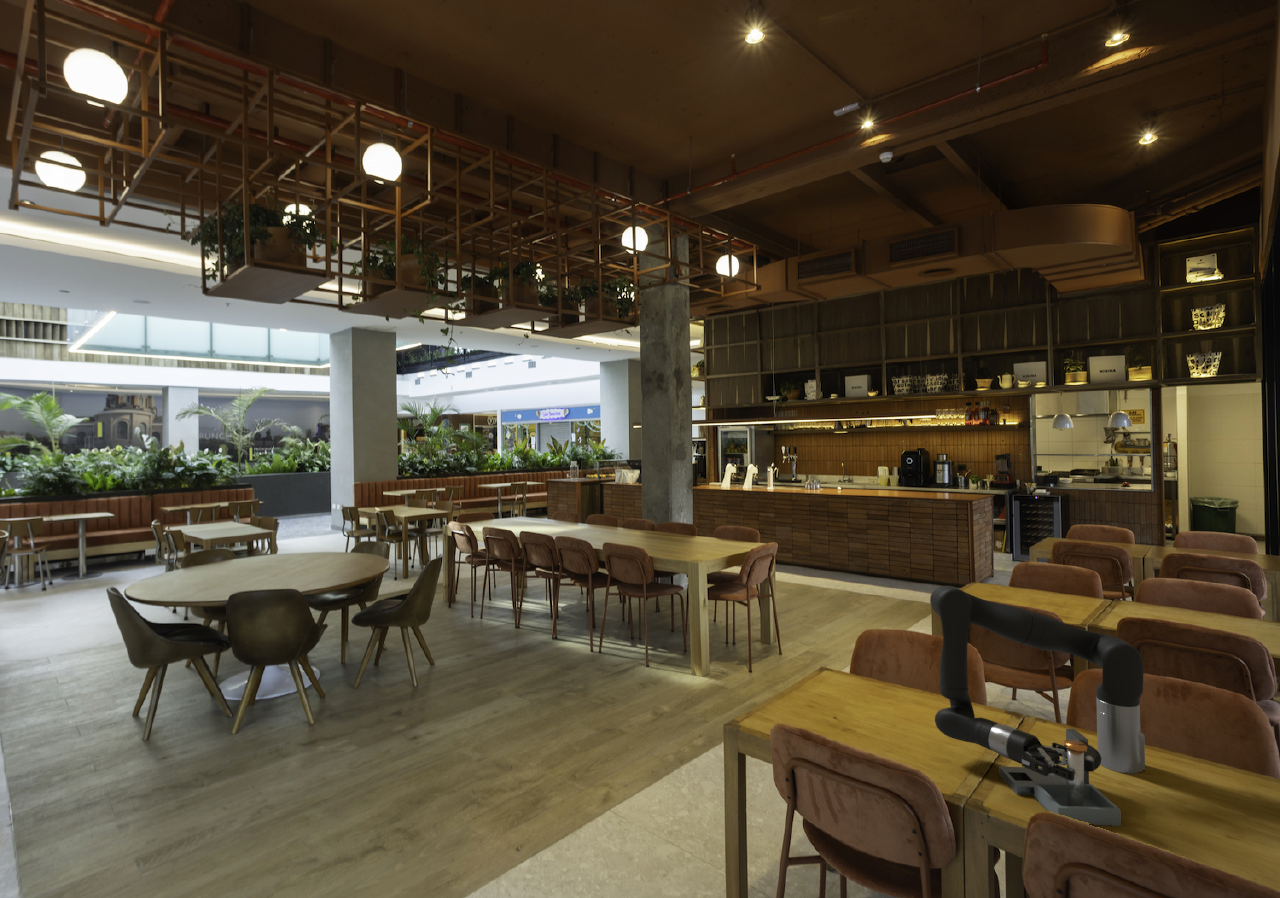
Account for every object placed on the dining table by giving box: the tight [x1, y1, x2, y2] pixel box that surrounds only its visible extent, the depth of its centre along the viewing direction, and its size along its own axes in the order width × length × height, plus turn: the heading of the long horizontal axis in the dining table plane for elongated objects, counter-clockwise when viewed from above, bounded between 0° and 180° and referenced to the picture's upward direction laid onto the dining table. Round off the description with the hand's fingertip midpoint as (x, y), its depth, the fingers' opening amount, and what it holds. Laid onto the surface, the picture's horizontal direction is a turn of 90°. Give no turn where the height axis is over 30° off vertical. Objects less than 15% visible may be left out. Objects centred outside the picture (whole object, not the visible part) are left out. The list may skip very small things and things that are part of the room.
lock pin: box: [1063, 739, 1087, 807], centre depth 151 cm, size 4×4×15 cm
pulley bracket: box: [998, 728, 1101, 796], centre depth 162 cm, size 20×10×13 cm, turn 84°
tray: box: [1033, 783, 1122, 827], centre depth 151 cm, size 13×11×4 cm
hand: (1083, 771), depth 149 cm, fingers open, 8 cm apart
